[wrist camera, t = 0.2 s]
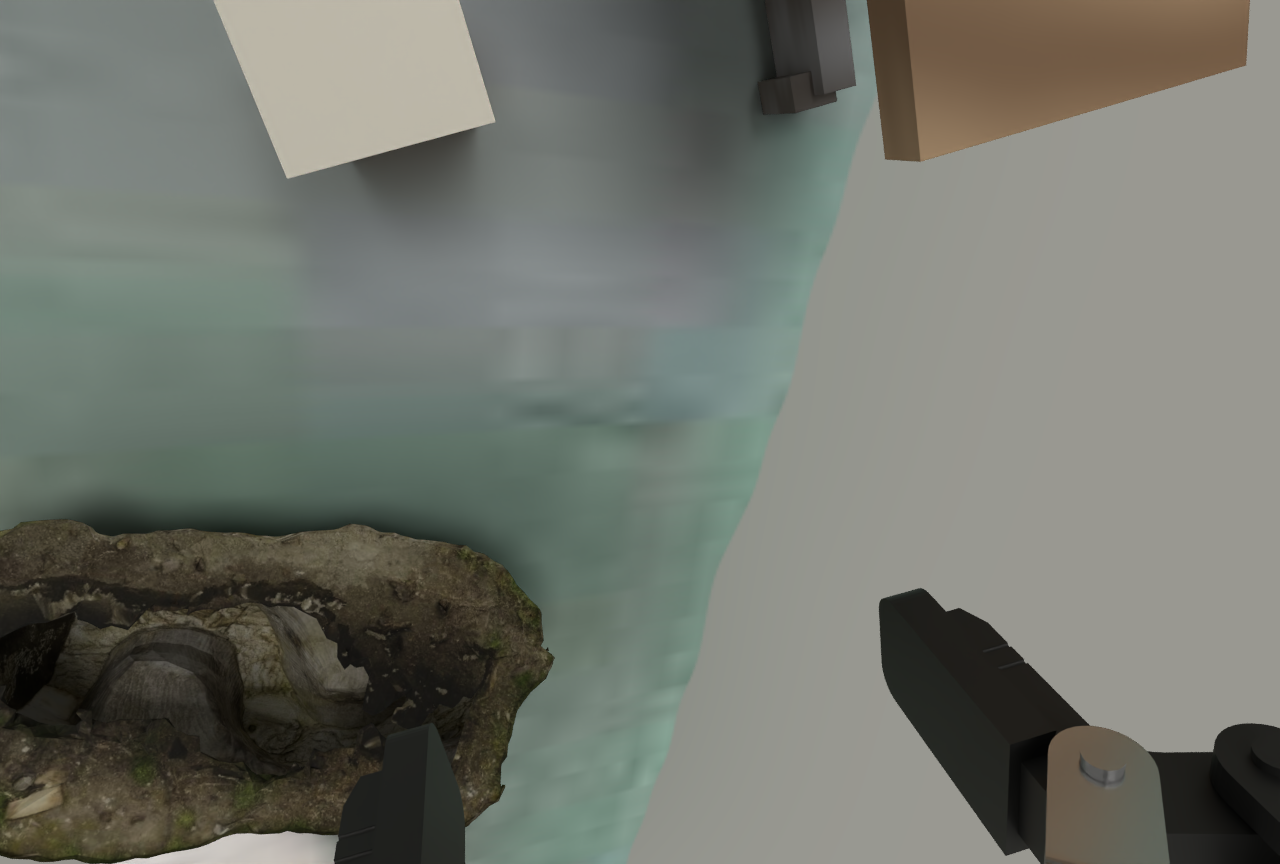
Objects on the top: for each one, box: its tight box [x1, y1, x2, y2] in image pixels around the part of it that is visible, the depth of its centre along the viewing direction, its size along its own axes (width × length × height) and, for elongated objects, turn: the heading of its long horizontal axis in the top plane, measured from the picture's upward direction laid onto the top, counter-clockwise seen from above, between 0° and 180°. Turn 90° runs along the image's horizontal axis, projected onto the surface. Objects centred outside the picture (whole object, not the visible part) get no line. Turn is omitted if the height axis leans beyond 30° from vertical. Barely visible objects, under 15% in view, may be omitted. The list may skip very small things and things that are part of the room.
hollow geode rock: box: [0, 519, 555, 864], centre depth 37 cm, size 28×13×15 cm
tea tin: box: [214, 0, 495, 179], centre depth 28 cm, size 5×6×14 cm
